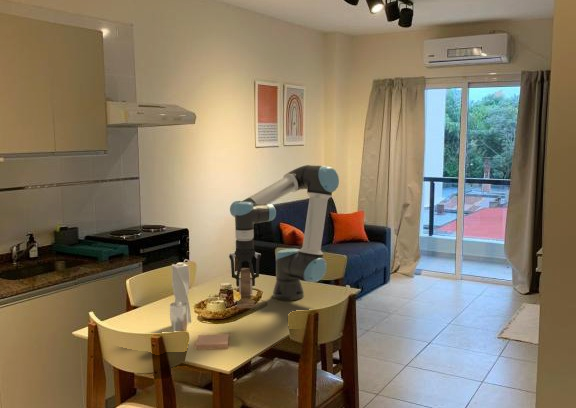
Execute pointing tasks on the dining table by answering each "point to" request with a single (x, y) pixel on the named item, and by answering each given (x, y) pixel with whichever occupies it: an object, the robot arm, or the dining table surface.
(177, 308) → the beer glass
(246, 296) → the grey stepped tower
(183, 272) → the skyscraper
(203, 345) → the tile
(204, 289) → the dining table surface
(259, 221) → the robot arm
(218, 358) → the dining table surface
